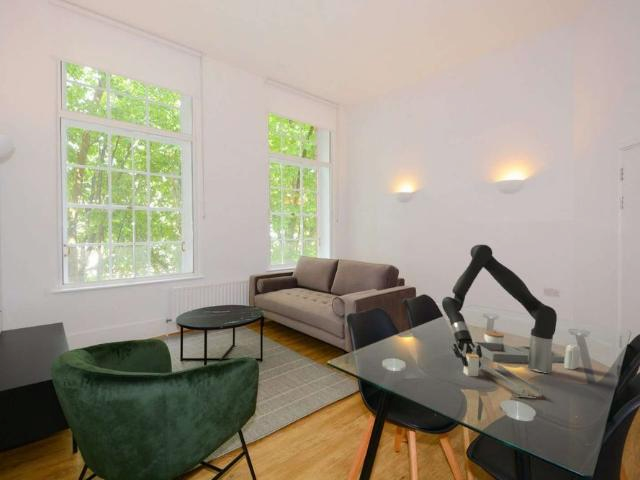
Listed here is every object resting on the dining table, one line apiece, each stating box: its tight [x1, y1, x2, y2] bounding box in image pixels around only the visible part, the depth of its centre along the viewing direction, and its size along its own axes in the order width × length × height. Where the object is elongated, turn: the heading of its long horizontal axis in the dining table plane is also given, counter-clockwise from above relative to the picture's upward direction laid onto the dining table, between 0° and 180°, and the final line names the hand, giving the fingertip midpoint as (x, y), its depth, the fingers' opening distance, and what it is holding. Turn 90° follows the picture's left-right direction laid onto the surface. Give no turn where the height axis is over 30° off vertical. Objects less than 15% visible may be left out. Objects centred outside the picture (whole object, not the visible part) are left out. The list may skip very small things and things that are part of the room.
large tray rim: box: [472, 341, 529, 363], centre depth 186 cm, size 20×20×4 cm
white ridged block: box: [563, 343, 581, 370], centre depth 175 cm, size 10×4×12 cm, turn 123°
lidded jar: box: [483, 330, 505, 343], centre depth 205 cm, size 11×11×9 cm
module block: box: [462, 353, 480, 377], centre depth 153 cm, size 5×4×9 cm
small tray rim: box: [518, 345, 565, 363], centre depth 191 cm, size 16×16×3 cm
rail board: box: [479, 363, 546, 400], centre depth 146 cm, size 12×26×4 cm, turn 6°
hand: (472, 366), depth 152 cm, fingers open, 5 cm apart
